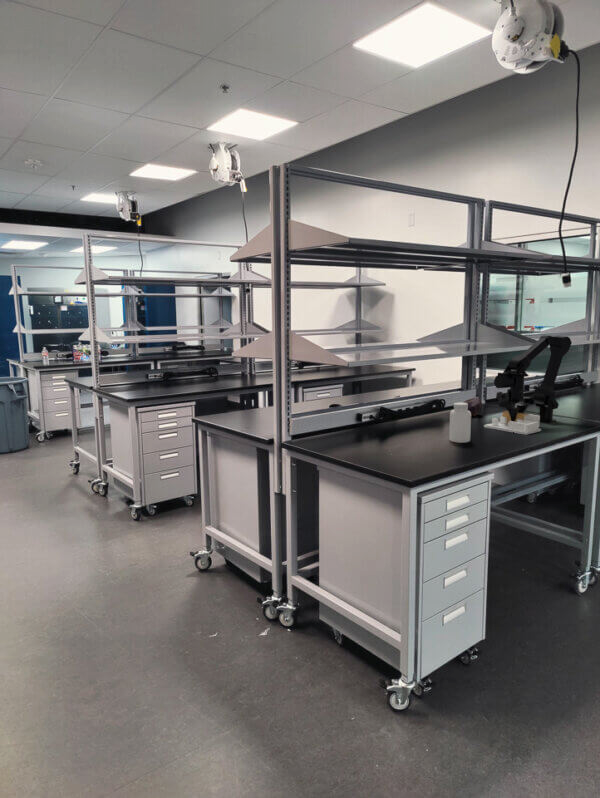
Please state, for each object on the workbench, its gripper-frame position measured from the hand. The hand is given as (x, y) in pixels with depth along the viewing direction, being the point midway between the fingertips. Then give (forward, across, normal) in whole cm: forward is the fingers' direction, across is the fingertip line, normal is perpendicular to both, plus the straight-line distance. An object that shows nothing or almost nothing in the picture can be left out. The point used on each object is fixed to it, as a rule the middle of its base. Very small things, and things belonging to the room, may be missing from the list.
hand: (515, 421), depth 241 cm
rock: (+2, -2, -25) cm, 25 cm away
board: (+1, +10, +5) cm, 12 cm away
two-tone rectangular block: (+1, 0, +2) cm, 3 cm away
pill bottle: (+1, +44, +4) cm, 45 cm away
